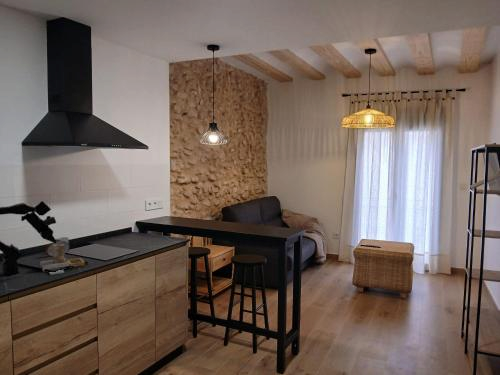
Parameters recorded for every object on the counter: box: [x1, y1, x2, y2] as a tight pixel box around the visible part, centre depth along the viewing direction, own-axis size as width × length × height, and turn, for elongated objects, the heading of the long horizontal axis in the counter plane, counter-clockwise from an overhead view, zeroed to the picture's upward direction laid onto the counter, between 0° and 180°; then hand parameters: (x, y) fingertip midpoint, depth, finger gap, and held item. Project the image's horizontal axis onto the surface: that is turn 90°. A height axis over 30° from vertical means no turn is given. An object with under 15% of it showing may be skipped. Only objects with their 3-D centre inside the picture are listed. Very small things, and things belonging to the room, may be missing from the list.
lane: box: [39, 257, 69, 272], centre depth 223 cm, size 14×10×3 cm
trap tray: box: [66, 257, 86, 268], centre depth 229 cm, size 8×10×2 cm
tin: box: [44, 241, 71, 257], centre depth 248 cm, size 15×3×8 cm, turn 141°
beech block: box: [52, 244, 65, 264], centre depth 224 cm, size 5×5×13 cm
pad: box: [48, 268, 65, 276], centre depth 214 cm, size 7×7×1 cm
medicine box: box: [55, 236, 70, 245], centre depth 258 cm, size 8×4×9 cm, turn 163°
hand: (54, 241), depth 222 cm, fingers open, 9 cm apart
